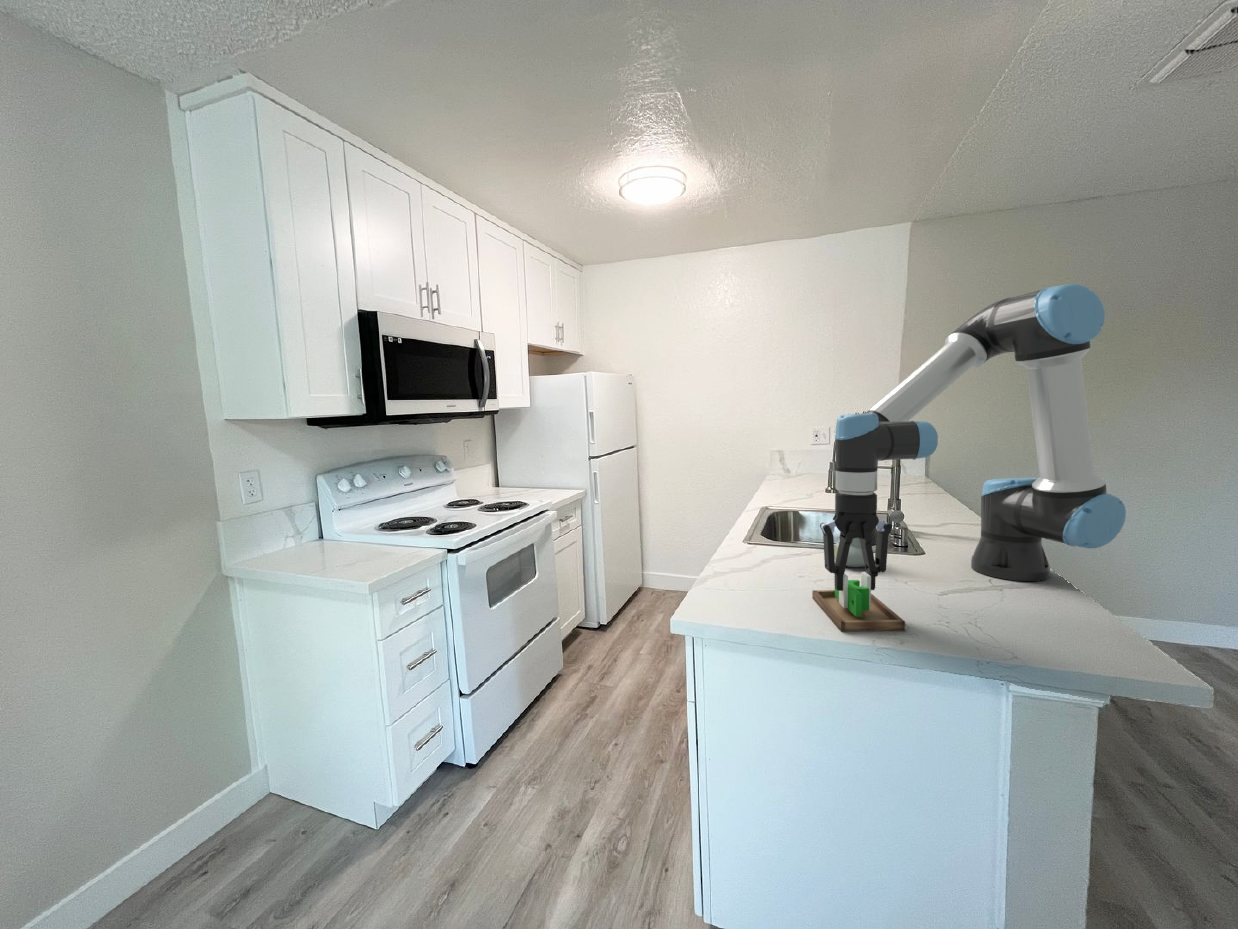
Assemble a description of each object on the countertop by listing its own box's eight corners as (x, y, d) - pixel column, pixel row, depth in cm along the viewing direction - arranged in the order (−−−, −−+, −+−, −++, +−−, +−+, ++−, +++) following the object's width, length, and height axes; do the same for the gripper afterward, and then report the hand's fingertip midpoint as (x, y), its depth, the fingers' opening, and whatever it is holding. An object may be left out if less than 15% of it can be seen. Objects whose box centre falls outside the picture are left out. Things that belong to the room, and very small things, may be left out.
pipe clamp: (875, 617, 95) (876, 594, 95) (855, 617, 96) (855, 594, 95) (852, 595, 107) (852, 574, 106) (834, 595, 107) (834, 575, 106)
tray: (866, 597, 109) (866, 589, 109) (904, 630, 92) (905, 621, 92) (812, 598, 110) (812, 590, 109) (840, 631, 93) (841, 622, 93)
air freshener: (831, 558, 138) (831, 522, 136) (863, 558, 136) (864, 523, 135) (841, 570, 127) (841, 532, 126) (875, 571, 125) (876, 532, 124)
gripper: (890, 487, 101) (888, 597, 104) (806, 489, 103) (806, 598, 105) (909, 493, 94) (906, 612, 96) (818, 496, 95) (818, 613, 98)
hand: (854, 605), depth 101 cm, fingers closed on pipe clamp, 4 cm apart
